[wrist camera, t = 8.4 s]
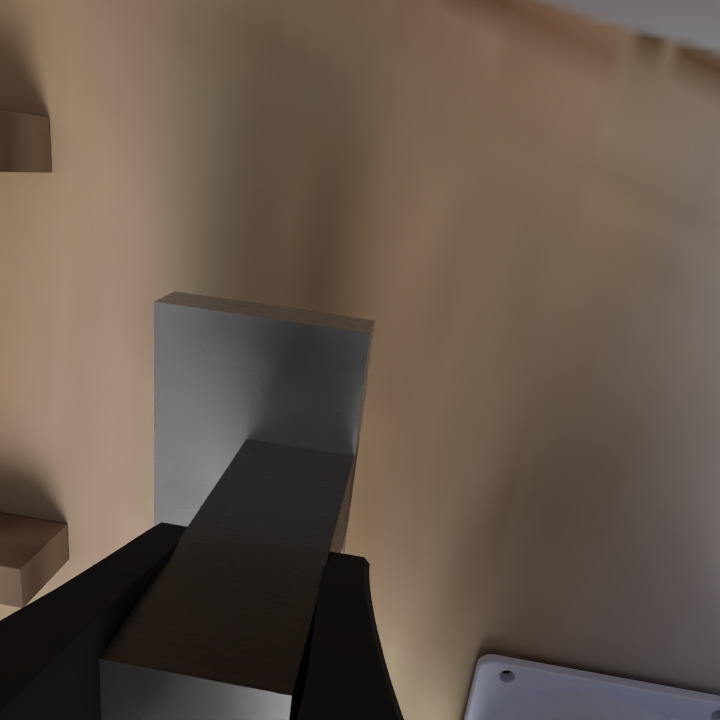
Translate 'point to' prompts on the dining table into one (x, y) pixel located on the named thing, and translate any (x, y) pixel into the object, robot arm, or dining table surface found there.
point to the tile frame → (5, 531)
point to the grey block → (240, 507)
